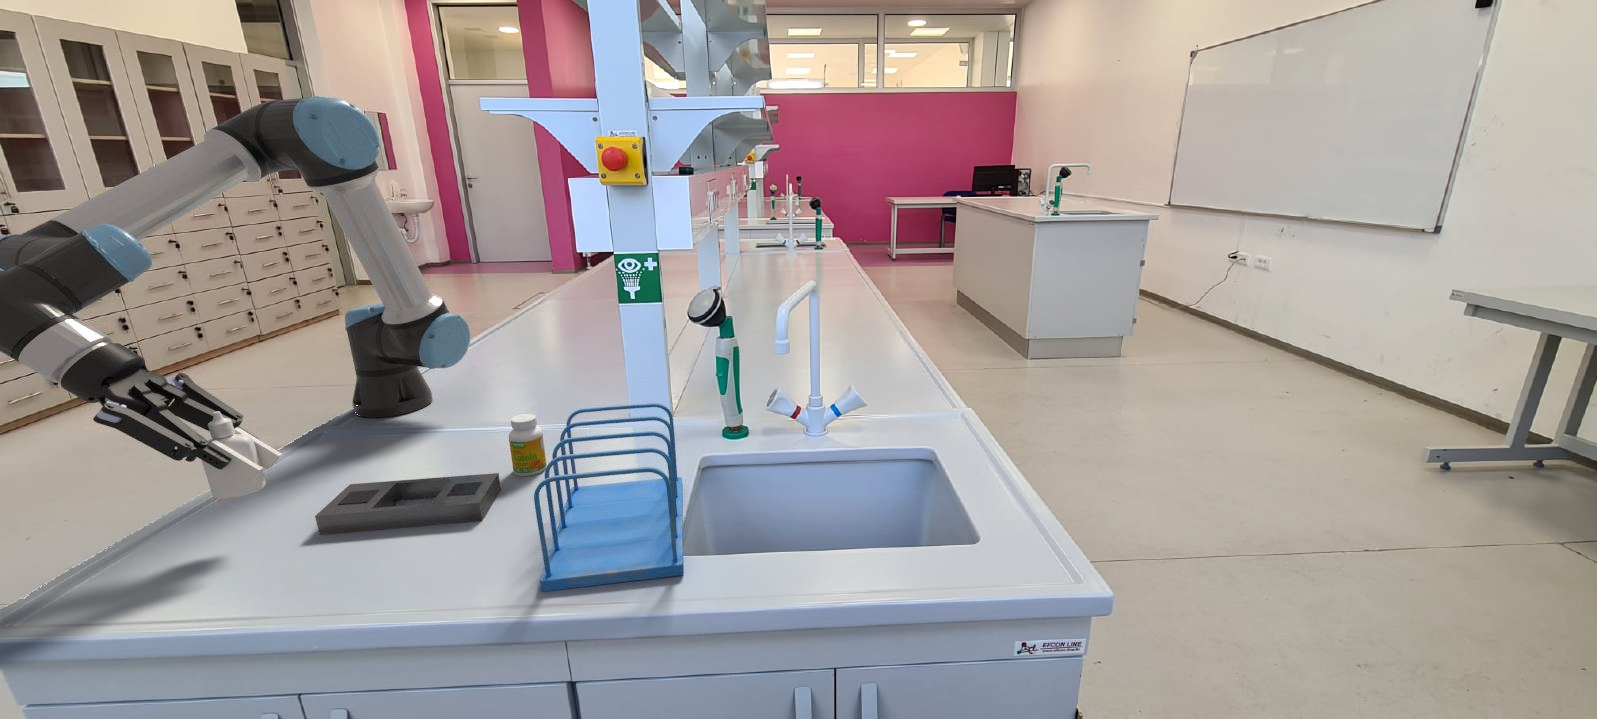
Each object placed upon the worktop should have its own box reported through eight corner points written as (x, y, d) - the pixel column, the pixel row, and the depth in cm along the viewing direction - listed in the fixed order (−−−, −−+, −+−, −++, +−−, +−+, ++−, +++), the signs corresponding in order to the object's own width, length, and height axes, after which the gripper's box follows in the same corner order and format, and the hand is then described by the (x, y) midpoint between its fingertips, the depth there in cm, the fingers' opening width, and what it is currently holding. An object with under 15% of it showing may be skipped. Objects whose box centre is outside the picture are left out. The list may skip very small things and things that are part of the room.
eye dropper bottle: (236, 484, 93) (212, 405, 89) (272, 484, 92) (250, 406, 89) (207, 499, 88) (181, 418, 85) (245, 500, 88) (220, 418, 84)
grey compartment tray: (354, 501, 102) (350, 483, 101) (501, 489, 106) (498, 472, 105) (319, 534, 93) (314, 515, 92) (482, 520, 96) (479, 502, 95)
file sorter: (572, 497, 103) (561, 407, 99) (682, 487, 106) (677, 399, 102) (540, 593, 79) (524, 479, 75) (684, 577, 82) (676, 467, 78)
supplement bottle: (511, 478, 109) (503, 425, 107) (515, 465, 114) (508, 414, 112) (545, 474, 111) (538, 421, 108) (548, 461, 116) (541, 410, 113)
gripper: (124, 364, 91) (284, 461, 98) (5, 407, 75) (206, 519, 82) (156, 325, 90) (314, 426, 97) (42, 361, 74) (242, 477, 82)
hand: (265, 468), depth 90 cm, fingers closed on eye dropper bottle, 4 cm apart
